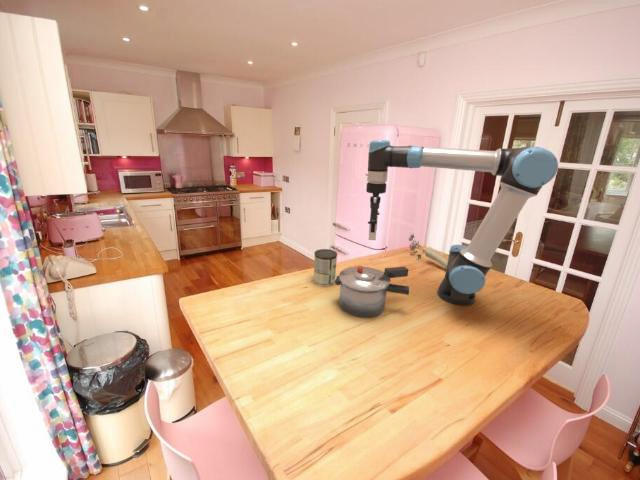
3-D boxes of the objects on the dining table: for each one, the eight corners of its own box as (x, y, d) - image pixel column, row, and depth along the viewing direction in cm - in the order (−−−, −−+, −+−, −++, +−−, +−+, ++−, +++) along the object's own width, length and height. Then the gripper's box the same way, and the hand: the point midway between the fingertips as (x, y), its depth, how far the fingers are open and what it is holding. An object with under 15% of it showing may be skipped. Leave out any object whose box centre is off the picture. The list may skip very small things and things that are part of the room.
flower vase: (445, 287, 154) (398, 252, 178) (461, 277, 159) (413, 244, 183) (449, 271, 147) (399, 236, 171) (466, 261, 151) (415, 228, 175)
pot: (330, 312, 114) (332, 286, 110) (338, 290, 131) (340, 267, 127) (405, 325, 108) (410, 298, 105) (404, 300, 125) (408, 277, 121)
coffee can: (314, 275, 144) (315, 248, 139) (335, 277, 143) (337, 249, 139) (311, 285, 134) (313, 256, 130) (334, 287, 133) (336, 258, 129)
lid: (350, 295, 105) (351, 282, 103) (332, 271, 122) (333, 260, 121) (419, 287, 113) (421, 275, 111) (393, 266, 130) (394, 255, 129)
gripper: (368, 178, 127) (365, 226, 134) (364, 186, 104) (361, 243, 111) (386, 178, 126) (382, 227, 133) (386, 187, 103) (381, 245, 109)
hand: (372, 234), depth 122 cm, fingers open, 13 cm apart
